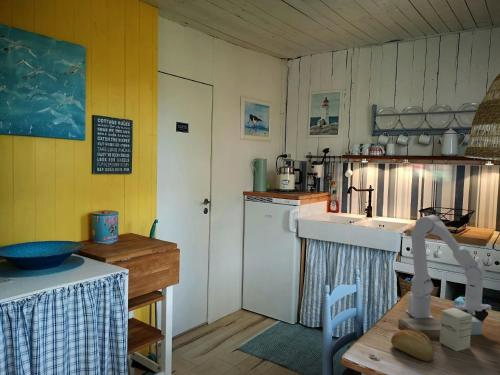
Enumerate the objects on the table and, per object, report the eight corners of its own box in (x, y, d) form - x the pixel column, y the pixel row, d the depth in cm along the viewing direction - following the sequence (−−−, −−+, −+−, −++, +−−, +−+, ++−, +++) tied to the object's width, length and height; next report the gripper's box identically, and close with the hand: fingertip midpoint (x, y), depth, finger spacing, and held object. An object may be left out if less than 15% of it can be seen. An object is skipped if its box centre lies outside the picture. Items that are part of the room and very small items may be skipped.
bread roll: (398, 341, 147) (399, 320, 146) (439, 357, 136) (441, 335, 135) (385, 349, 141) (386, 327, 140) (427, 366, 129) (428, 343, 129)
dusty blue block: (461, 329, 158) (462, 317, 158) (472, 328, 159) (473, 316, 159) (469, 334, 153) (470, 322, 153) (481, 334, 154) (482, 321, 154)
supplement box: (438, 342, 146) (440, 309, 145) (452, 339, 149) (455, 307, 148) (456, 352, 139) (458, 317, 138) (470, 348, 142) (472, 314, 141)
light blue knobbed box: (465, 320, 167) (467, 303, 166) (450, 316, 171) (451, 299, 170) (474, 313, 175) (476, 296, 175) (460, 309, 179) (461, 293, 179)
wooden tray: (398, 325, 161) (398, 318, 160) (432, 323, 163) (432, 316, 162) (414, 338, 149) (414, 331, 149) (450, 337, 151) (451, 329, 151)
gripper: (463, 299, 150) (461, 333, 151) (498, 297, 152) (495, 331, 153) (451, 292, 157) (449, 325, 158) (484, 291, 159) (482, 324, 160)
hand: (471, 328), depth 156 cm, fingers closed on dusty blue block, 5 cm apart
